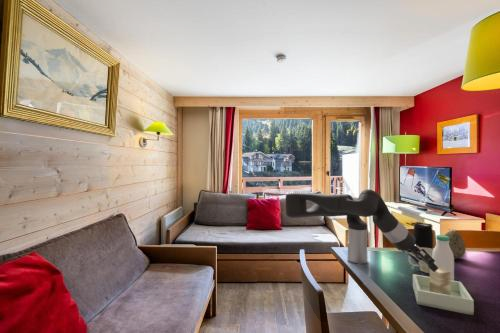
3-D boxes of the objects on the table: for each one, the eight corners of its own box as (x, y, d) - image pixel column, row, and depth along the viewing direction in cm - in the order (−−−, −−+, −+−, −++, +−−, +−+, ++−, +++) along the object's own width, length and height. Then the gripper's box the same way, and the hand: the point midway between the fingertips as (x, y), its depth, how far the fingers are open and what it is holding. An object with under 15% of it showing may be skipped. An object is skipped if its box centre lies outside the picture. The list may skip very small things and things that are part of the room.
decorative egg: (470, 262, 136) (470, 233, 136) (447, 261, 138) (447, 232, 138) (457, 255, 146) (457, 228, 146) (436, 254, 148) (436, 228, 148)
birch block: (438, 299, 96) (438, 272, 96) (429, 293, 101) (429, 267, 101) (450, 299, 96) (450, 272, 96) (440, 293, 101) (440, 267, 101)
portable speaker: (420, 263, 134) (420, 225, 134) (409, 257, 144) (409, 221, 144) (437, 263, 134) (437, 225, 134) (425, 257, 144) (425, 221, 143)
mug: (441, 275, 120) (441, 253, 120) (411, 273, 123) (411, 251, 123) (433, 268, 128) (433, 247, 128) (404, 266, 131) (404, 246, 131)
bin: (417, 304, 95) (417, 290, 95) (412, 286, 109) (412, 274, 109) (473, 315, 88) (473, 300, 88) (460, 294, 102) (460, 281, 102)
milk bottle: (455, 288, 108) (455, 239, 108) (432, 283, 112) (432, 236, 112) (452, 281, 114) (453, 235, 114) (431, 277, 118) (431, 232, 118)
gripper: (380, 236, 103) (407, 265, 104) (403, 247, 89) (434, 281, 90) (393, 223, 104) (420, 251, 104) (418, 232, 89) (449, 265, 90)
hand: (427, 265), depth 97 cm, fingers open, 8 cm apart
